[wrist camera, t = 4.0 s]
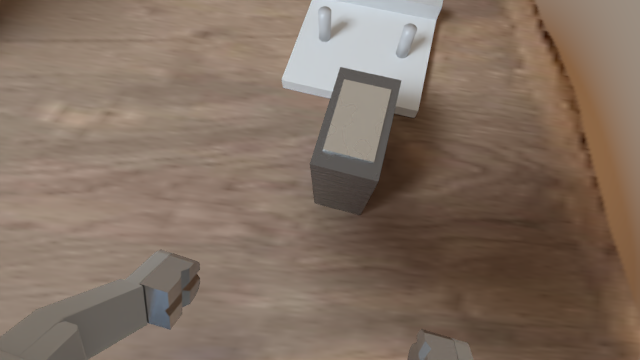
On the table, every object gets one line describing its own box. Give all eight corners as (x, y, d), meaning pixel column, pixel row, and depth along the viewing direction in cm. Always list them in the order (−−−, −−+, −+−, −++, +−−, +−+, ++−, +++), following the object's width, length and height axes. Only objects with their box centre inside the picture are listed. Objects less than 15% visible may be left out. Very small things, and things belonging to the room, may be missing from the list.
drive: (360, 215, 25) (379, 180, 16) (314, 203, 26) (309, 162, 17) (377, 143, 27) (402, 78, 19) (335, 132, 28) (340, 64, 19)
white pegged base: (414, 118, 28) (429, 91, 24) (283, 87, 29) (276, 57, 25) (433, 22, 32) (449, -15, 28) (316, -1, 33) (315, -40, 29)
